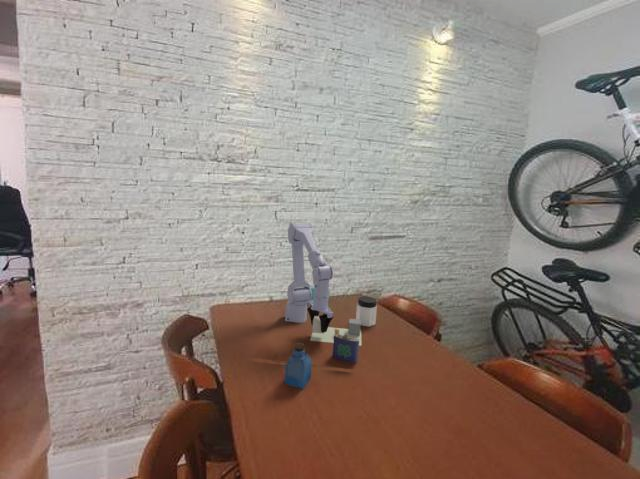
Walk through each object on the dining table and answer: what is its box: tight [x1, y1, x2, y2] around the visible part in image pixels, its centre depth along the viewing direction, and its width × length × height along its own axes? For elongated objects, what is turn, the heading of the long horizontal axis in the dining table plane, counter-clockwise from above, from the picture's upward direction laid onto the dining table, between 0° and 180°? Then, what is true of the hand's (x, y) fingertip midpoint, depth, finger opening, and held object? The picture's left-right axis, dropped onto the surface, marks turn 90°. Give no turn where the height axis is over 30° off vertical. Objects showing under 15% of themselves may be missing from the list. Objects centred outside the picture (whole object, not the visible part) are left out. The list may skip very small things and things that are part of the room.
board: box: [309, 326, 362, 347], centre depth 135 cm, size 20×14×4 cm
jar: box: [355, 295, 378, 328], centre depth 149 cm, size 9×8×12 cm
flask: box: [332, 333, 359, 363], centre depth 116 cm, size 9×3×11 cm, turn 68°
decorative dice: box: [311, 285, 331, 300], centre depth 175 cm, size 8×8×8 cm
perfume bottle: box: [284, 342, 312, 390], centre depth 103 cm, size 6×6×12 cm
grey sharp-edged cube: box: [348, 318, 362, 336], centre depth 138 cm, size 5×5×5 cm
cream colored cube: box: [311, 315, 324, 334], centre depth 131 cm, size 5×5×5 cm
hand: (319, 328), depth 132 cm, fingers closed on cream colored cube, 6 cm apart
